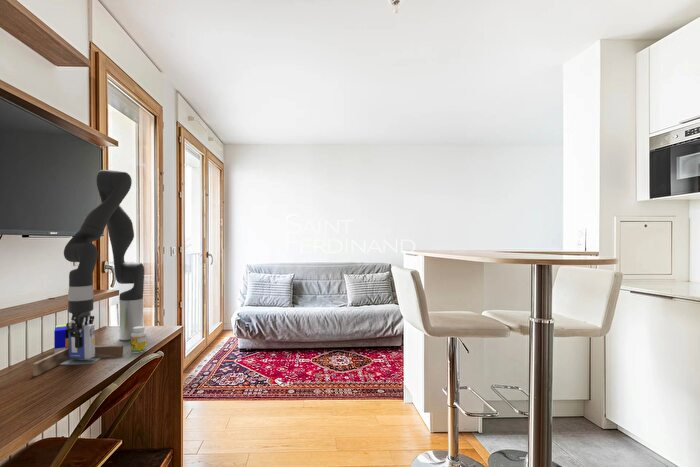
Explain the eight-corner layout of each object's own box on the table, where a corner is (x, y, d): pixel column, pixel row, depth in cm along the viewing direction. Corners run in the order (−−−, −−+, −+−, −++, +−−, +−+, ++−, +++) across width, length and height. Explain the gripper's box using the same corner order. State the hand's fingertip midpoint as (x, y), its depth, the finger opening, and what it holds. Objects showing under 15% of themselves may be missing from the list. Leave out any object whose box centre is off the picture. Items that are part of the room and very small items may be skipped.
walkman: (68, 358, 142) (68, 324, 142) (74, 355, 145) (74, 322, 145) (89, 358, 142) (89, 325, 141) (95, 356, 145) (94, 323, 144)
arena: (69, 357, 148) (69, 346, 148) (123, 356, 149) (123, 345, 149) (33, 375, 129) (33, 363, 129) (94, 374, 130) (94, 362, 130)
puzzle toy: (54, 357, 147) (54, 330, 147) (56, 351, 156) (56, 325, 156) (86, 353, 153) (86, 327, 153) (86, 347, 161) (86, 322, 161)
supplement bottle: (148, 352, 155) (148, 327, 155) (133, 355, 151) (133, 329, 151) (143, 349, 158) (143, 325, 158) (128, 352, 154) (128, 327, 154)
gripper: (80, 301, 136) (80, 352, 136) (102, 295, 150) (102, 341, 150) (57, 301, 136) (57, 352, 136) (81, 295, 149) (81, 341, 149)
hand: (80, 346), depth 143 cm, fingers closed on walkman, 2 cm apart
